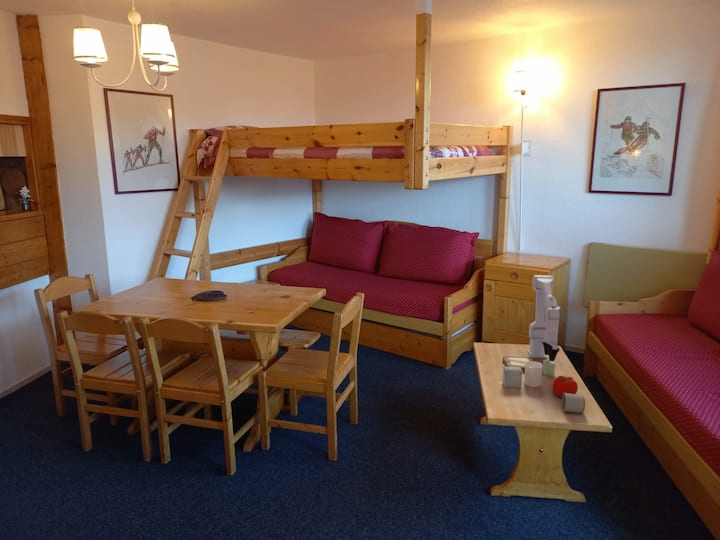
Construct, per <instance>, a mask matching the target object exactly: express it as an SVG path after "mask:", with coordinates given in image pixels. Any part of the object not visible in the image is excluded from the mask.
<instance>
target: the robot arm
mask: <svg viewBox="0 0 720 540" xmlns="http://www.w3.org/2000/svg"><path fill="white" fill-rule="evenodd" d="M531 284H532V287H531V288H532V290H533V291H535V318H534V321H533V322H531V323H530V324H529V329H528V337H529V349H528V350H527V353H528V354H529V357H531V359H532V358H535V359H541V358H542V359H547V358H548V360H549V361H553V362H555V359H556V357H557V355H558V353H559V352H560V350H561V349H560V347H558V334H559V325H560V320H561V318H562V310H561V309H562V308H561V307H560V306H558V302H557V299H556V297H555V296H553V290H552V289H553V288H554V286H555V278H554V276H553V275H539V274H538V275H537V274H534V275H533V277H532V283H531Z"/></svg>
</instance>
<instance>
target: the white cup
mask: <svg viewBox="0 0 720 540" xmlns="http://www.w3.org/2000/svg"><path fill="white" fill-rule="evenodd" d="M542 368H543V363H541V362H538V361H528V362H526V363H525V372H524V385H525V386H527V387H530V388H539V387H540V386H541V381H542V374H543V372H542Z"/></svg>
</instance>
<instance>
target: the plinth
mask: <svg viewBox="0 0 720 540" xmlns="http://www.w3.org/2000/svg"><path fill="white" fill-rule="evenodd" d="M528 361H533V359H532V357H531V356H502V362H503V363H504V367H520V368H521V370H522V373H525V363H526V362H528Z"/></svg>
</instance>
